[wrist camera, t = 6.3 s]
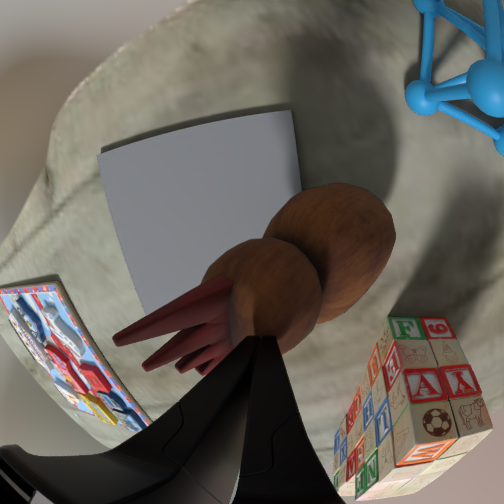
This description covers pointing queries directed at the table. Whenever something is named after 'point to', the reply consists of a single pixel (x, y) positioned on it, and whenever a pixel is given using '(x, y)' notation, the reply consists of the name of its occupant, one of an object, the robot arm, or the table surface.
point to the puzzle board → (69, 353)
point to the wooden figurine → (276, 280)
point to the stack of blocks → (409, 412)
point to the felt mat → (197, 197)
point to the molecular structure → (474, 80)
